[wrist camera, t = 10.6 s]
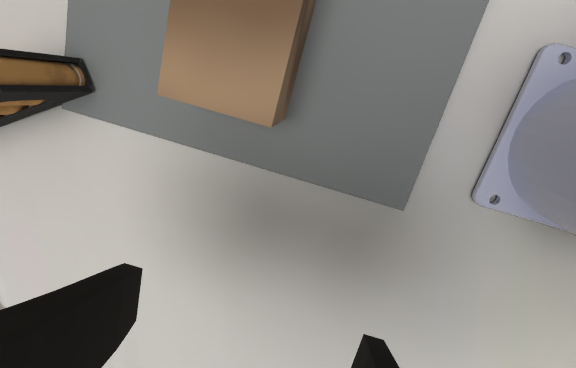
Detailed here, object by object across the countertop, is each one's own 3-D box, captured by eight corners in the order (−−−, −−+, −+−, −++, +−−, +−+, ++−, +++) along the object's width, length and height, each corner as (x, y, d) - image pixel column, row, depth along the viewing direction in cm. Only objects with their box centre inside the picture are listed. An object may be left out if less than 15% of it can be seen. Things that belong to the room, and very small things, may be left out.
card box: (284, 119, 17) (271, 127, 14) (195, 93, 18) (156, 94, 14) (336, -79, 15) (337, -139, 11) (229, -107, 15) (194, -173, 11)
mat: (532, -116, 14) (538, -122, 13) (401, 208, 18) (403, 210, 18) (88, -224, 15) (81, -232, 14) (67, 108, 19) (62, 108, 19)
